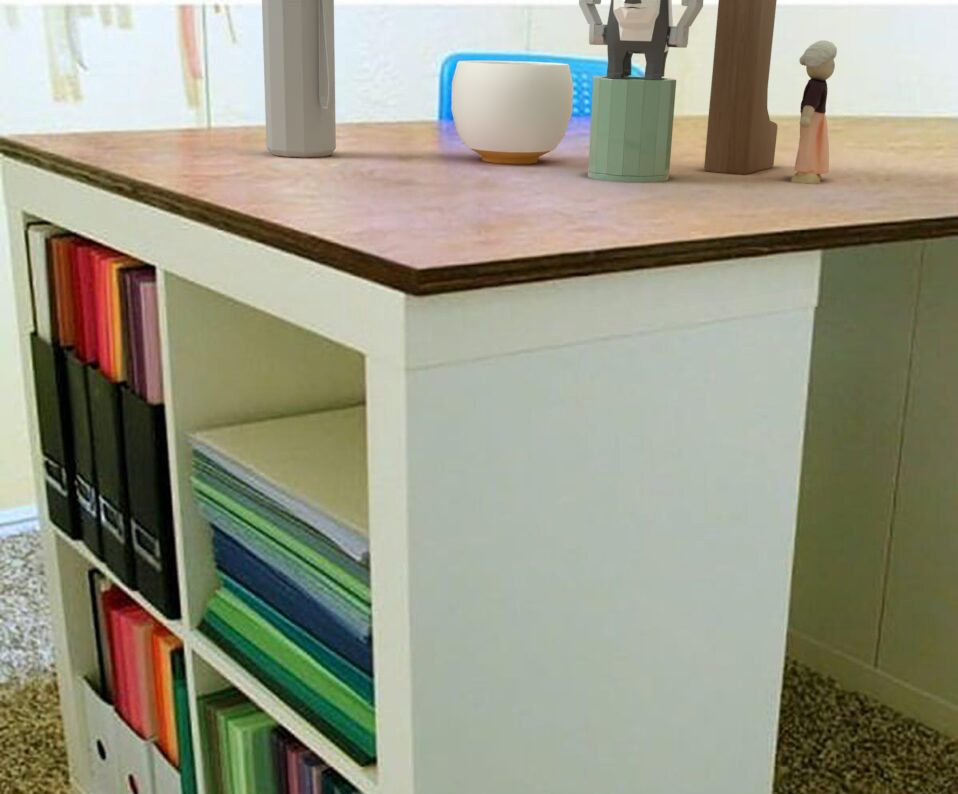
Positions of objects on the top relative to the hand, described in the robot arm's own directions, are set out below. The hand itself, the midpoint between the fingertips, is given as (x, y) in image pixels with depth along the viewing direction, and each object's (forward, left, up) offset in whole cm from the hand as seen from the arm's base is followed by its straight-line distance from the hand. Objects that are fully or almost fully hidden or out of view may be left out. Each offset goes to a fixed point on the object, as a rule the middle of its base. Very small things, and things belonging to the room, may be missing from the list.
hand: (636, 46), depth 118 cm
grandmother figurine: (-15, -9, -12) cm, 21 cm away
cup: (+15, -6, -12) cm, 20 cm away
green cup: (0, 0, -12) cm, 12 cm away
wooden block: (-7, -14, -12) cm, 20 cm away
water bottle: (+34, +3, -12) cm, 36 cm away
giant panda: (0, 0, -3) cm, 3 cm away
